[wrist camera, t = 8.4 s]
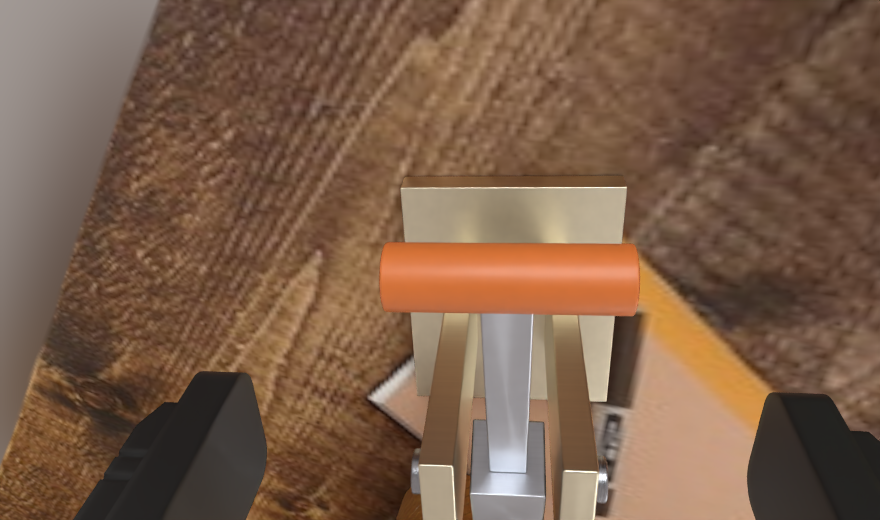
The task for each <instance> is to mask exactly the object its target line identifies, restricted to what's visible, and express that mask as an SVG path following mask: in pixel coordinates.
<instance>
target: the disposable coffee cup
mask: <svg viewBox="0 0 880 520" xmlns="http://www.w3.org/2000/svg"><path fill="white" fill-rule="evenodd" d="M396 520H423V515H422V504H421V495H414V494H413V493H412V490H411V487H410V488H409V489H408V491H407V492H406V493H405V495H404V498H403V500H402V503H401V506H400V509H399V512H398V515H397V518H396ZM463 520H473V519H472V510H471V502H470V476H469V475H466V485H465V497H464V508H463Z"/></svg>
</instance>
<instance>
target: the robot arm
mask: <svg viewBox="0 0 880 520" xmlns="http://www.w3.org/2000/svg"><path fill="white" fill-rule="evenodd" d="M266 459H267V445H266V438H265V434H264V430H263V425H262V421H261V417H260V413H259V408H258V404H257V400H256V396H255V391H254V387H253V383H252V380H251V378H250V376H249V375H248V374H247V373H238V372H209V371H202V372H199V373H197V374H196V375H195V376H194V378H193V379H192V381H191V382H190V384H189V386H188V387H187V389H186V390H185V392H184V394H183V395H182V397H181V398H180V400H179V402H178V403H173V402H164V403H163V404H162V405H161V406H160V407H158V408H157V409H156V410H155V411H153V412H152V413H151V414H150V415H148V416H147V417H146V418H145V419H144V420H142V421H141V422H140V423H139V424H137V426H136V427H135V429H134V430H133V432H132V433H131V435H130V436H129V437H128V439H127V440H126V442H125V443H124V445H123V446H122V448H121V449H120V451H119V456H118V457H115V458H114V460H113V461H112V463H111V464H110V466H109V467H108V469H107V470H106V472H105V473H104V479H103V480H100V481H99V482H98V484H97V485H96V487H95V488H94V489H93V491H92V492H91V494H90V495H89V497H88V498H87V500H86V501H85V503H84V504H83V506H82V507H81V509H80V510H79V512H78V513H77V515H76V516H75V518H74V519H73V520H246V518H247V515H248V513H249V510H250V508H251V506H252V503H253V501H254V498H255V496H256V494H257V491H258V489H259V486H260V484H261V481H262V479H263V475H264V471H265V466H266ZM747 484H748V494H749V500H750V504H751V507H752V510H753V513H754V516H755V519H756V520H880V441H879V440H877V439H876V438H875V437H874V436H873V435H872V434H870V433H869V432H862V431H850V430H849V428H848V426H847V424H846V423H845V421H844V419H843V417H842V416H841V414H840V412H839V410H838V409H837V407H836V405H835V404H834V402H833V400H832V399H831V398H830V397H829V396H827V395H825V394H806V393H777V392H773V393H770V394H769V395H768V396H767V398H766V400H765V403H764V406H763V410H762V414H761V418H760V422H759V426H758V429H757V433H756V437H755V441H754V445H753V449H752V452H751V456H750V460H749V464H748V472H747Z"/></svg>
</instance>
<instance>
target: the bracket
mask: <svg viewBox="0 0 880 520" xmlns="http://www.w3.org/2000/svg"><path fill="white" fill-rule="evenodd" d="M400 191H401V203H402V216H403V228H404V240H405V242H437V243H597V244H622V237H623V227H624V216H625V206H626V196H627V186H626V183H625V180H624V177H623V176H418V177H404V180H403V182H402V185H401V188H400ZM410 313H411V325H412V338H413V350H414V362H415V374H416V386H417V396H430V397H429V403H428V409H427V415H426V421H425V427H424V433H423V439H422V445H421V449H415V450H414V452H413V456H412V463H411V490H412V493H413V494H414V495H421V504H422V515H423V520H463V508H464V497H465V485H466V473H467V461H468V450H469V438H470V426H471V414H472V403H473V398H485V388H484V370H483V353H482V335H481V317H480V314H477V313H420V312H410ZM614 319H615V316H591V315H534V327H533V348H532V369H531V391H530V399H534V400H547V403H548V422H549V440H550V459H551V477H552V496H553V514H554V520H595V513H596V503H606V502H607V498H608V468H607V462H606V458H605V457H604V456H597V451H596V443H595V436H594V428H593V420H592V413H591V405H590V401H599V402H606V401H607V391H608V381H609V370H610V360H611V350H612V340H613V329H614Z"/></svg>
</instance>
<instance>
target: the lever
mask: <svg viewBox="0 0 880 520" xmlns="http://www.w3.org/2000/svg"><path fill="white" fill-rule="evenodd" d="M379 286H380V298H381V303H382V307H383V309H384V311H386V312H420V313H477V314H480V317H481V335H482V353H483V370H484V388H485V406H486V420H476V419H475V420H473V433H472V453H471V473H470V502H471V510H472V519H473V520H544V511H545V502H546V473H545V428H544V422H534V421H529V412H530V391H531V369H532V348H533V327H534V315H591V316H633V315H635V313H636V310H637V306H638V301H639V291H640V268H639V258H638V252H637V249H636V247H635V245H634V244H597V243H437V242H387V243H385V245H384V247H383V250H382V254H381V260H380V272H379Z"/></svg>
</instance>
